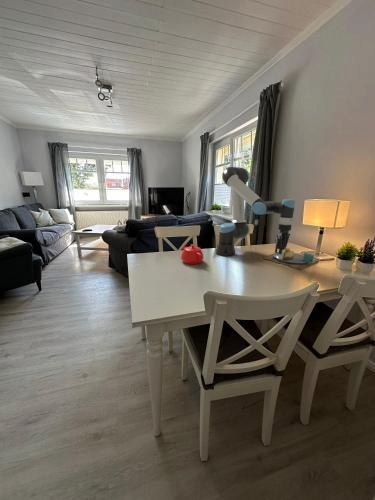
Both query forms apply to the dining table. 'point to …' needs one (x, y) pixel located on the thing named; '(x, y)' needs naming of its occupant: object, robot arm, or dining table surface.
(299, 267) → the plinth
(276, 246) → the indicator
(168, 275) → the dining table surface
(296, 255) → the platter
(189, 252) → the teapot
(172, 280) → the dining table surface
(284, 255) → the cover
